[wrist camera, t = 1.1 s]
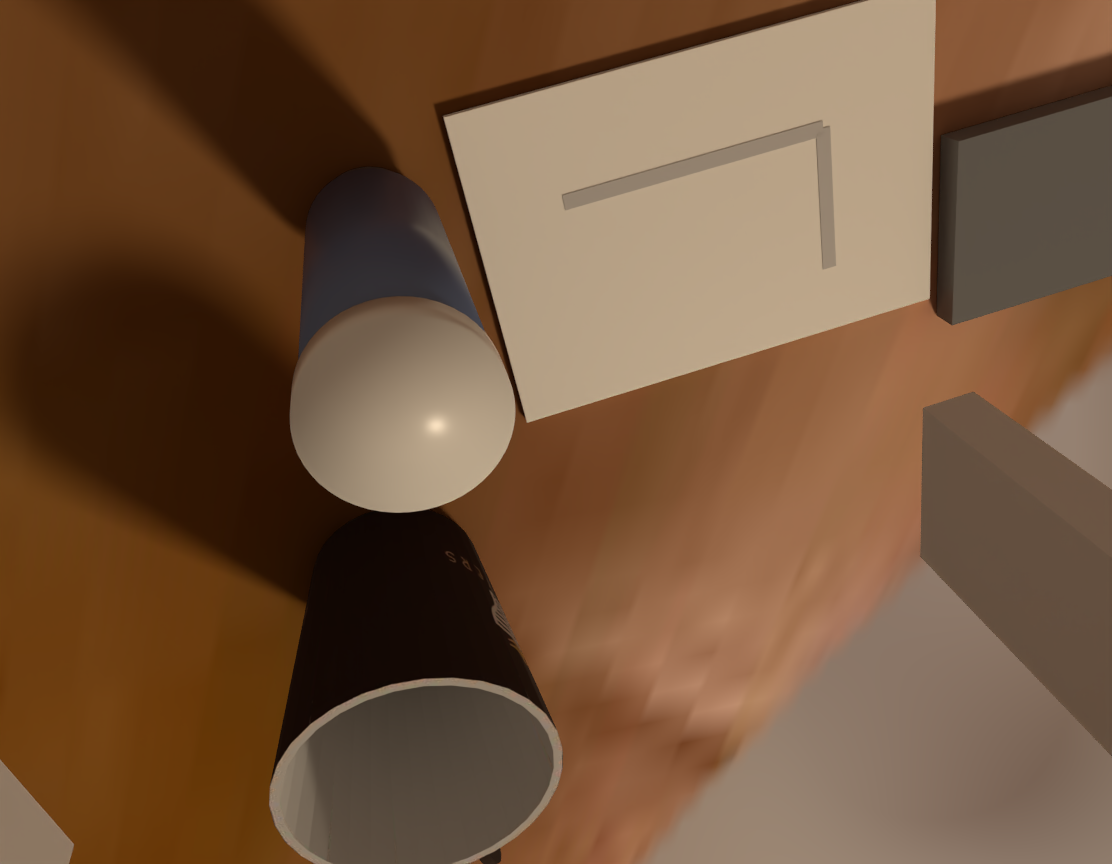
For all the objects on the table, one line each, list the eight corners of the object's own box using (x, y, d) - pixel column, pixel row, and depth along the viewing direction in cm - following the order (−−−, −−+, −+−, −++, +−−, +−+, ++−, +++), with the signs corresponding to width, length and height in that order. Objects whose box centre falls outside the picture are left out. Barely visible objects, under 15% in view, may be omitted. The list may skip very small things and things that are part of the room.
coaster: (936, 315, 34) (951, 325, 33) (941, 135, 30) (958, 141, 30) (1098, 265, 35) (1118, 273, 34) (1122, 82, 31) (1145, 86, 30)
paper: (525, 418, 32) (527, 422, 32) (442, 115, 26) (443, 117, 26) (925, 295, 34) (930, 299, 33) (930, -20, 28) (936, -19, 27)
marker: (330, 301, 28) (335, 538, 18) (281, 174, 26) (252, 355, 15) (455, 264, 29) (536, 475, 18) (417, 137, 27) (484, 288, 16)
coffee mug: (280, 482, 31) (265, 689, 23) (517, 480, 34) (582, 668, 25) (284, 716, 37) (273, 953, 28) (487, 702, 39) (532, 916, 31)
